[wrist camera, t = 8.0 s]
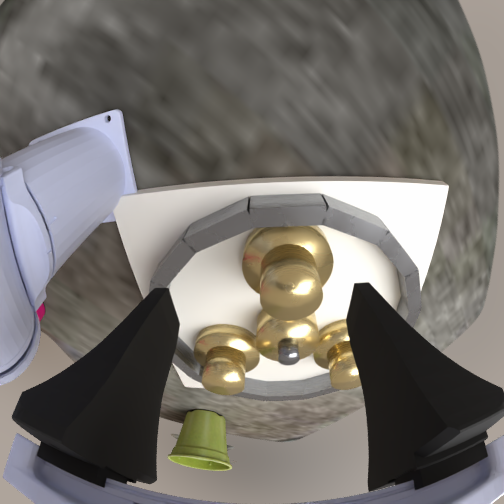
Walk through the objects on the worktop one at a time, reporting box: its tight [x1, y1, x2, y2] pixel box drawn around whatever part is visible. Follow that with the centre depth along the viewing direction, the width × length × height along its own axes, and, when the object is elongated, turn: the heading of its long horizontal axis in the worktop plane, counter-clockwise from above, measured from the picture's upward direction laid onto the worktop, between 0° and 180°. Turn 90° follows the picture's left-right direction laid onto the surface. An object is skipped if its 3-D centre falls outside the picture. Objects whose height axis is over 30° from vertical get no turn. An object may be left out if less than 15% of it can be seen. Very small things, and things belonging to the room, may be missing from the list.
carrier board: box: [113, 176, 449, 388], centre depth 23 cm, size 24×24×1 cm
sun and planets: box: [194, 309, 361, 395], centre depth 22 cm, size 17×9×4 cm, turn 94°
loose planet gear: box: [242, 225, 334, 321], centre depth 17 cm, size 6×6×4 cm
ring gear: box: [149, 193, 421, 401], centre depth 22 cm, size 22×22×2 cm
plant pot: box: [168, 410, 232, 471], centre depth 34 cm, size 9×9×9 cm
